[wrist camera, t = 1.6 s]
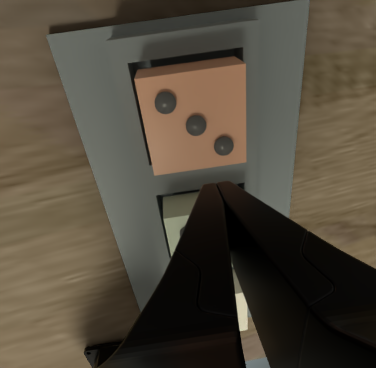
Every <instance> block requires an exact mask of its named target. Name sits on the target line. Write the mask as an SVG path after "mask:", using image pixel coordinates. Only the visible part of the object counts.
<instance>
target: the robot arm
mask: <svg viewBox="0 0 376 368" xmlns="http://www.w3.org/2000/svg"><path fill="white" fill-rule="evenodd" d="M232 265H233V268H234V270H235V273H236V276H237V278H238V281H239V284H240V287H241V289H242V292H243V295H244V297H245V300H246V303H247V306H248V308H249V311H250V314H251V316H252V319H253V322H254V324H255V327H256V330H257V333H258V335H259V338H260V341H261V343H262V346H263V349H264V351H265V354H266V357H267V360H268V362H269V365H270V368H376V269H375V268H373V267H371V266H369V265H367V264H366V263H364V262H362V261H360V260H358V259H356V258H354V257H352V256H351V255H349V254H347V253H345V252H343V251H341V250H339V249H338V248H336V247H334V246H333V245H331V244H329V243H328V242H326V241H324V240H323V239H321V238H319V237H318V236H316V235H315V234H313V233H312V232H310V231H308V232H307V229H305V228H303V227H302V226H300V225H299V224H297V223H296V222H294V221H292V220H291V219H289V218H288V217H286V216H284V215H283V214H281V213H280V212H278V211H277V210H275V209H273V208H272V207H270V206H269V205H267V204H266V203H264V202H262V201H261V200H259V199H258V198H256V197H254V196H253V195H251V194H250V193H248V192H247V191H245V190H243V189H242V188H240V187H239V186H237V185H236V184H234V183H232V182H231V181H222V182H217V184H216V183H208V184H203V185H202V187H201V189H200V192H199V194H198V196H197V199H196V201H195V203H194V206H193V208H192V210H191V213H190V215H189V218H188V220H187V222H186V225H185V227H184V229H183V232H182V234H181V236H180V239H179V241H178V243H177V246H176V248H175V251H174V252H173V255H172V257H171V259H170V262H169V264H168V266H167V268H166V270H165V272H164V274H163V276H162V278H161V280H160V282H159V283H158V285H157V287H156V289H155V290H154V292H153V294H152V295H151V297H150V299H149V300H148V302H147V303H146V305H145V307H144V308H143V310H142V312H141V313H140V315H139V316H138V318H137V320H136V321H135V323H134V325H133V326H132V328H131V329H130V331H129V333H128V334H127V336H126V338H125V339H124V341H123V342H118V343H112V344H105V345H99V346H92V347H87V348H85V350H84V355H85V356H86V358H87V360H88V361H89V363H90V365H91V366H92V368H246V364H245V359H244V354H243V349H242V343H241V336H240V329H239V322H238V312H237V304H236V296H235V287H234V279H233V270H232Z"/></svg>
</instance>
